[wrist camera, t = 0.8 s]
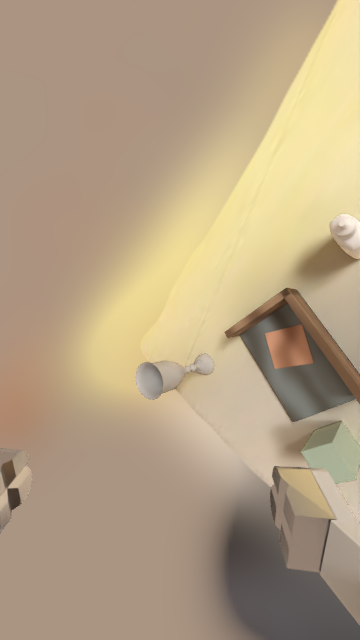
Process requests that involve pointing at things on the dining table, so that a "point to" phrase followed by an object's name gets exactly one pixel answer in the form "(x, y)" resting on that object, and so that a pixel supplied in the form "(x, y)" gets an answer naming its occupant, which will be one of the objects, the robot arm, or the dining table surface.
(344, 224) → the eye dropper bottle
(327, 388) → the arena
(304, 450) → the sage block
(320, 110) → the dining table surface
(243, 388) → the dining table surface
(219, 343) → the dining table surface
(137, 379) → the chalice
